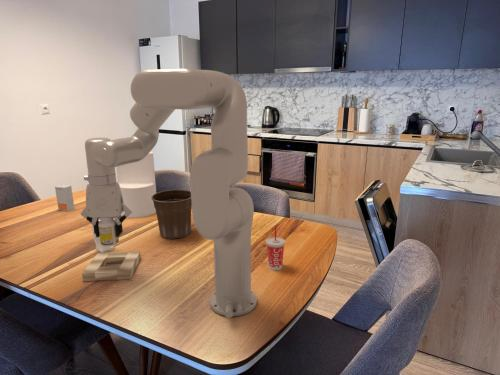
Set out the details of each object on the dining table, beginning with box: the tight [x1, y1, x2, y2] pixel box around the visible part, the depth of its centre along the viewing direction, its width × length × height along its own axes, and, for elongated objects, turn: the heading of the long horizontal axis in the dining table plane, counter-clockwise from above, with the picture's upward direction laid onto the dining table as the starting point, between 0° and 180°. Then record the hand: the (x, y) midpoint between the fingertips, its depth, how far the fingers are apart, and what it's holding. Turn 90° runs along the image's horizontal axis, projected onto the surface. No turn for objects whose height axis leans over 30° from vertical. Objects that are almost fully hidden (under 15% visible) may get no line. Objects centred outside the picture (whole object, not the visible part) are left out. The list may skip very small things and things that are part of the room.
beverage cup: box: [265, 225, 286, 271], centre depth 112 cm, size 6×6×14 cm
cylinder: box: [115, 150, 157, 219], centre depth 164 cm, size 17×17×28 cm
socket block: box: [81, 250, 142, 282], centre depth 113 cm, size 14×14×2 cm
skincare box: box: [54, 184, 75, 212], centre depth 169 cm, size 6×4×12 cm
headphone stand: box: [91, 219, 115, 253], centre depth 126 cm, size 5×6×12 cm
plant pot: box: [151, 189, 192, 240], centre depth 139 cm, size 16×16×16 cm
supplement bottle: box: [98, 217, 120, 247], centre depth 109 cm, size 5×5×10 cm
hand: (108, 234), depth 110 cm, fingers closed on supplement bottle, 5 cm apart
